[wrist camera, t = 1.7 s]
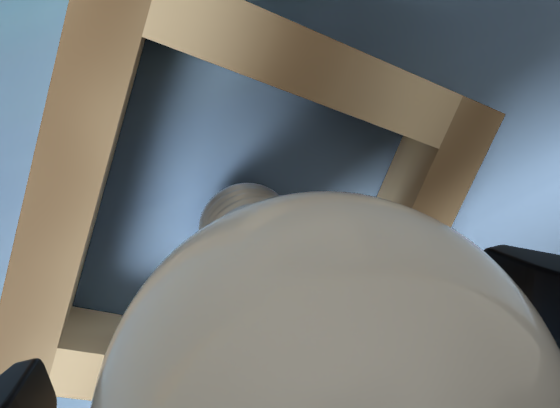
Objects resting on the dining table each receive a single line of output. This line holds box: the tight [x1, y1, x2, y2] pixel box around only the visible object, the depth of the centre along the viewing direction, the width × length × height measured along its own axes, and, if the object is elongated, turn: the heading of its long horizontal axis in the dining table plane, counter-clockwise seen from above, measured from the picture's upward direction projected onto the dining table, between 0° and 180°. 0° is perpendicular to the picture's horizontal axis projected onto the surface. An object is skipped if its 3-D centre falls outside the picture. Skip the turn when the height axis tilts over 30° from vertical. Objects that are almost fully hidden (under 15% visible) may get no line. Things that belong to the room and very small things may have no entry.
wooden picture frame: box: [0, 0, 505, 401], centre depth 13 cm, size 11×11×2 cm
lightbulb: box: [90, 183, 560, 408], centre depth 9 cm, size 6×6×11 cm
